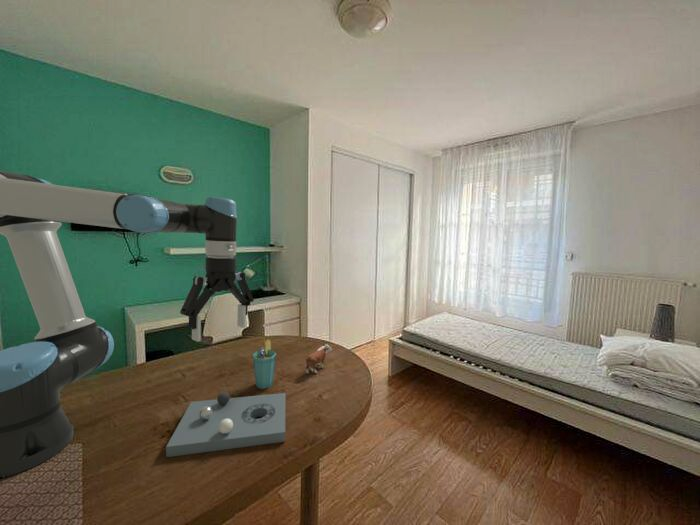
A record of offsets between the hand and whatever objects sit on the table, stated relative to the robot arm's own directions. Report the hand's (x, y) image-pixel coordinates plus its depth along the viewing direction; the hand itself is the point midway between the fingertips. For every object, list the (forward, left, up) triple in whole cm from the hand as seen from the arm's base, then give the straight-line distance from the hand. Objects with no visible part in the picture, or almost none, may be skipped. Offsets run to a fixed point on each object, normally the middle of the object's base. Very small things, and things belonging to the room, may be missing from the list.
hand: (220, 333), depth 77 cm
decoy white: (+4, -13, -19) cm, 23 cm away
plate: (+5, -7, -23) cm, 24 cm away
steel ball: (-2, -7, -19) cm, 20 cm away
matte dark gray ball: (+1, -1, -19) cm, 19 cm away
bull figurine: (+30, +20, -23) cm, 43 cm away
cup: (+11, +11, -23) cm, 28 cm away
